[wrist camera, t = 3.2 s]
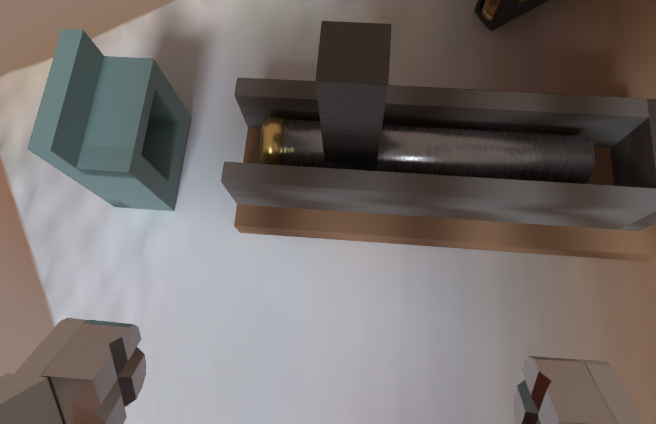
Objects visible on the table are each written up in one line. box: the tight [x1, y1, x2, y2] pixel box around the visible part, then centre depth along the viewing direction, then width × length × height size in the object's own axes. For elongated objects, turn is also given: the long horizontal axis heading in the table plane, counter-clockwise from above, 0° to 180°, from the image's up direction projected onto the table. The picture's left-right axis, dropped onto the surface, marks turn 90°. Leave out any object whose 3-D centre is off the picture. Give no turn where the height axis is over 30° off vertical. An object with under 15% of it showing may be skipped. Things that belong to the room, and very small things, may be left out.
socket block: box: [28, 29, 191, 211], centre depth 25 cm, size 4×6×8 cm, turn 175°
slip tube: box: [260, 21, 595, 184], centre depth 21 cm, size 16×3×10 cm, turn 85°
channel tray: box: [221, 78, 656, 261], centre depth 25 cm, size 22×9×5 cm, turn 85°
